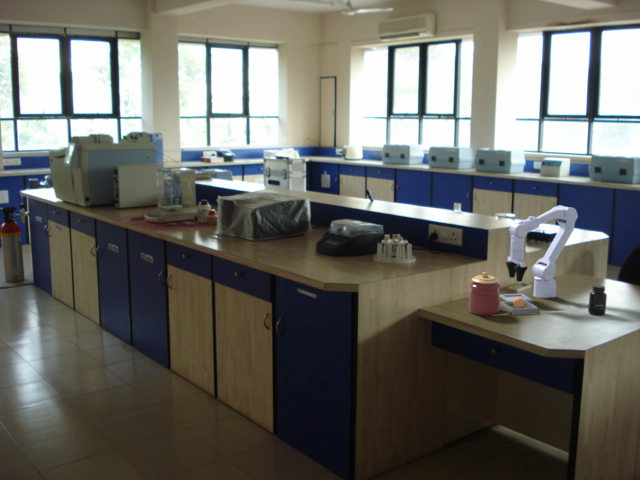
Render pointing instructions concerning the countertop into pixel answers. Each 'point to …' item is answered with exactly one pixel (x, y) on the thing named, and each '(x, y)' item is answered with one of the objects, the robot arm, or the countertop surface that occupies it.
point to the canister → (484, 295)
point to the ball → (518, 302)
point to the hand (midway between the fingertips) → (515, 279)
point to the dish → (512, 296)
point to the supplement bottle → (597, 300)
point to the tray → (520, 310)
